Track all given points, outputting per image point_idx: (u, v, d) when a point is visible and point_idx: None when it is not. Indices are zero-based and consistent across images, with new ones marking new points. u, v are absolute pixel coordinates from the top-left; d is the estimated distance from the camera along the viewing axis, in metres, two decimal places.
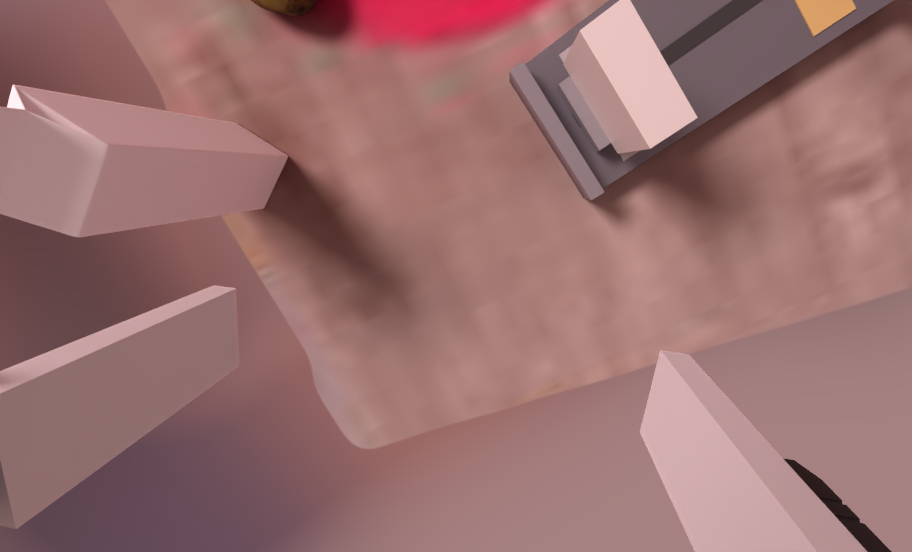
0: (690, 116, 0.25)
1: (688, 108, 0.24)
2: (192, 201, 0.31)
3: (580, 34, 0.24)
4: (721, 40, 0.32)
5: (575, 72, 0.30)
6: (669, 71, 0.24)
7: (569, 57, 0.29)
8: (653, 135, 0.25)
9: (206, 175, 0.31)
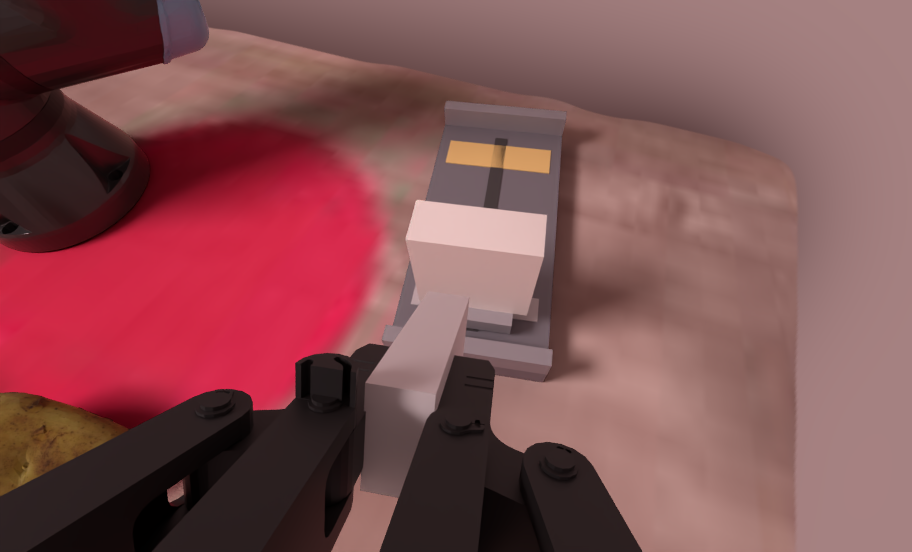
0: (541, 218, 0.25)
1: (534, 215, 0.25)
2: None
3: (408, 242, 0.25)
4: None
5: (433, 290, 0.30)
6: (494, 210, 0.25)
7: (418, 283, 0.29)
8: (534, 248, 0.24)
9: None
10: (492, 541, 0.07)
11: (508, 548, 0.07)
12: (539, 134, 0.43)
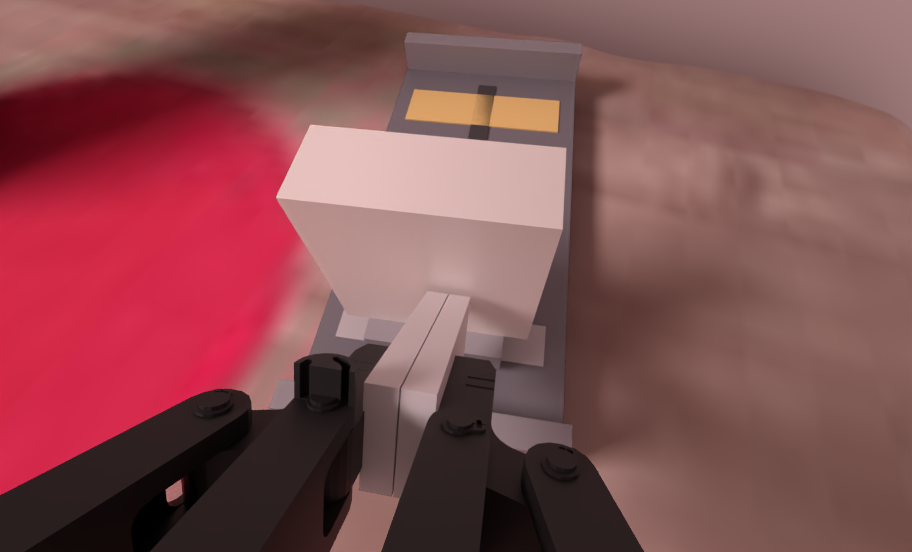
0: (555, 153, 0.12)
1: (540, 149, 0.12)
2: None
3: (284, 203, 0.12)
4: None
5: (364, 298, 0.17)
6: (461, 140, 0.13)
7: (335, 286, 0.16)
8: (543, 212, 0.11)
9: None
10: (493, 542, 0.07)
11: (509, 549, 0.07)
12: (542, 79, 0.30)
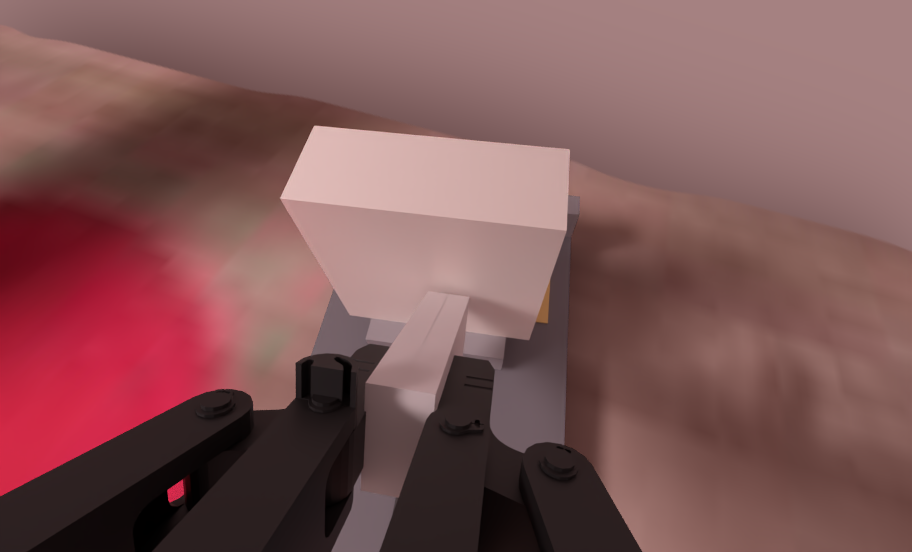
0: (559, 155, 0.12)
1: (544, 151, 0.13)
2: None
3: (288, 204, 0.12)
4: None
5: (367, 299, 0.17)
6: (465, 141, 0.13)
7: (338, 286, 0.16)
8: (546, 213, 0.11)
9: None
10: (492, 541, 0.07)
11: (507, 548, 0.07)
12: None
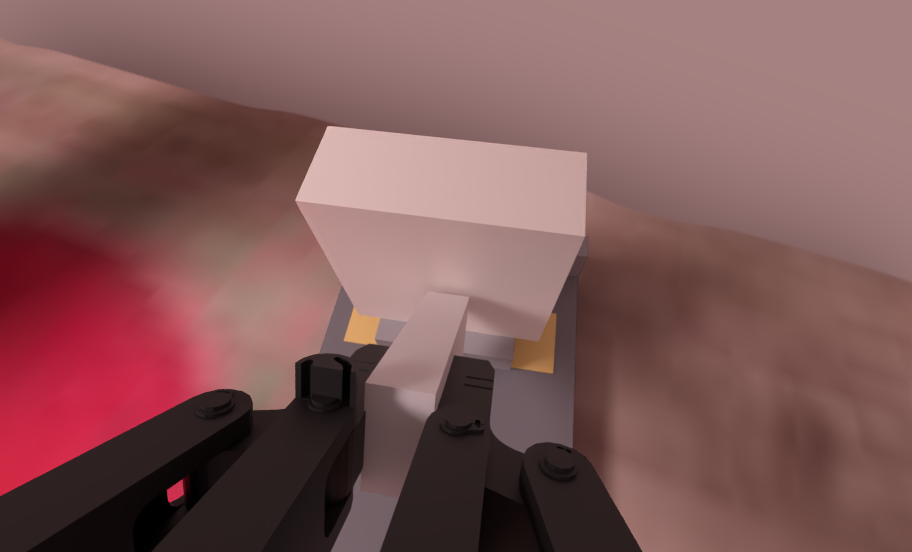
0: (576, 159, 0.12)
1: (561, 154, 0.12)
2: None
3: (303, 206, 0.12)
4: None
5: (377, 299, 0.17)
6: (481, 143, 0.13)
7: (348, 287, 0.16)
8: (565, 218, 0.11)
9: None
10: (492, 541, 0.07)
11: (507, 549, 0.07)
12: None
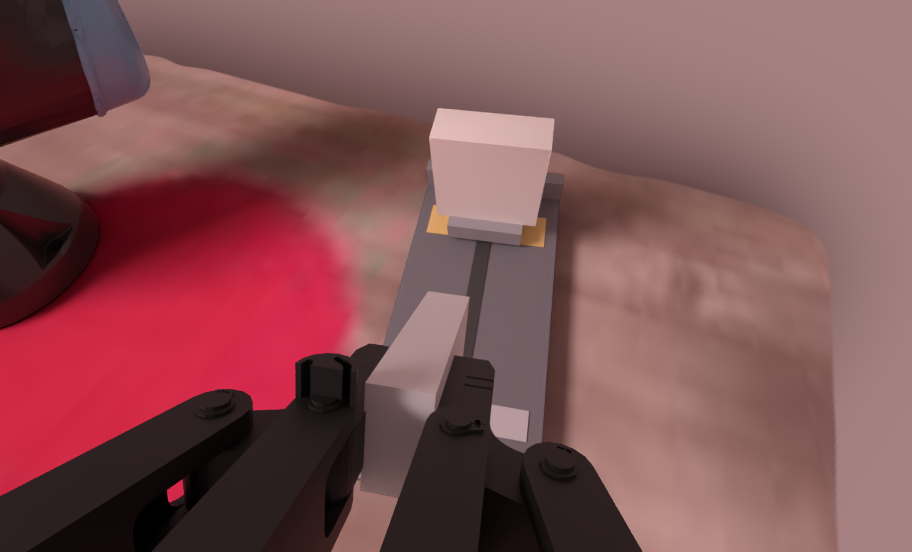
0: (549, 121, 0.28)
1: (543, 119, 0.28)
2: None
3: (431, 140, 0.28)
4: (491, 296, 0.33)
5: (451, 200, 0.33)
6: (507, 115, 0.29)
7: (437, 192, 0.32)
8: (543, 143, 0.27)
9: None
10: (492, 541, 0.07)
11: (507, 548, 0.07)
12: None
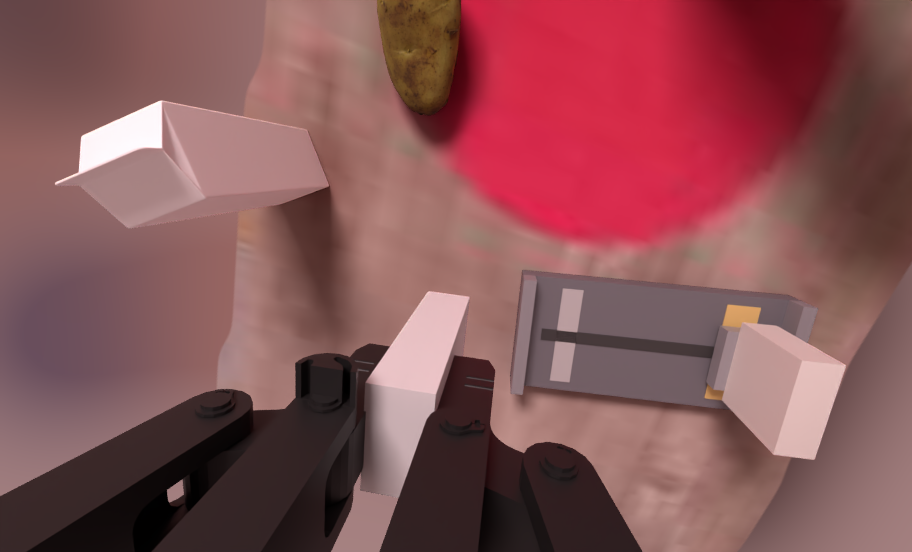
0: (811, 456, 0.32)
1: (814, 451, 0.32)
2: (231, 208, 0.34)
3: (799, 361, 0.31)
4: (657, 359, 0.42)
5: (751, 343, 0.37)
6: (825, 423, 0.32)
7: (759, 336, 0.36)
8: (782, 449, 0.33)
9: (257, 199, 0.34)
10: (492, 541, 0.07)
11: (508, 548, 0.07)
12: None
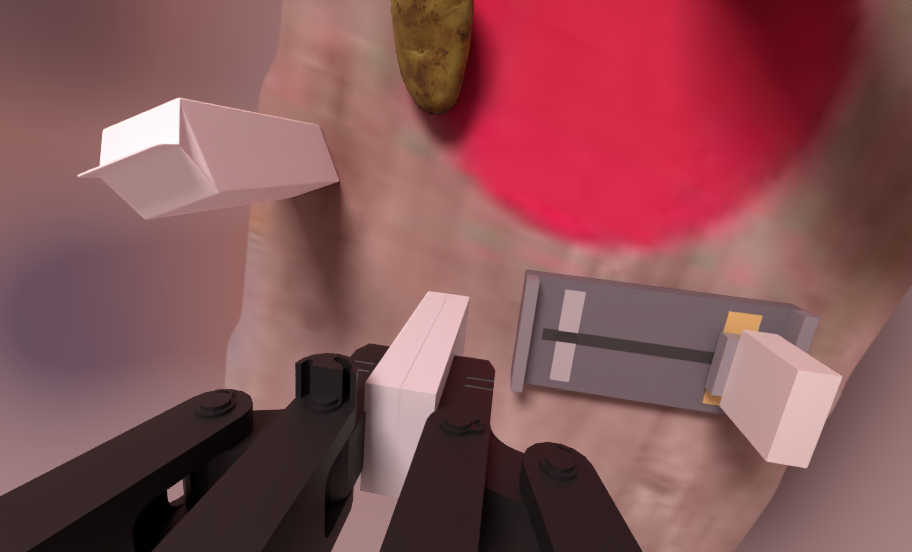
0: (804, 464, 0.33)
1: (807, 459, 0.33)
2: (243, 201, 0.35)
3: (795, 370, 0.31)
4: (657, 362, 0.43)
5: (750, 350, 0.37)
6: (819, 433, 0.32)
7: (758, 344, 0.36)
8: (775, 456, 0.33)
9: (269, 193, 0.35)
10: (492, 540, 0.07)
11: (508, 548, 0.07)
12: None
